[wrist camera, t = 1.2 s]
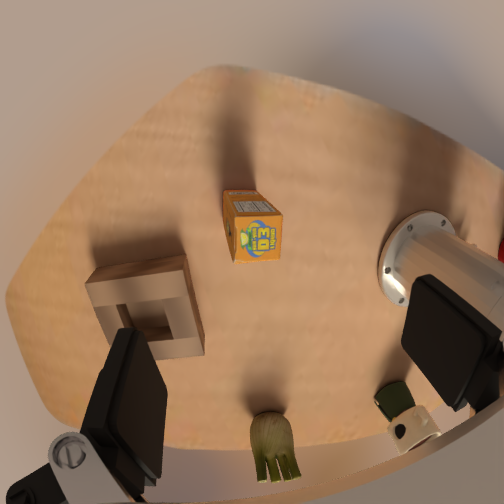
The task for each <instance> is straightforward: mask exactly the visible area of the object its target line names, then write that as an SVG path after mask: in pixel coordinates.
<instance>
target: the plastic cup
mask: <svg viewBox="0 0 504 504" xmlns="http://www.w3.org/2000/svg"><path fill="white" fill-rule="evenodd" d="M498 260H499V261H501V262H502V263H504V239H503V240H502V242H501V245H500V248H499V253H498Z"/></svg>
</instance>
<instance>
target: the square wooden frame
mask: <svg viewBox="0 0 504 504" xmlns="http://www.w3.org/2000/svg"><path fill="white" fill-rule="evenodd" d="M85 287H86V290H87V292H88V295H89V298H90V300H91V303H92V306H93V308H94V311H95V313H96V316H97V318H98V320H99V323H100V325H101V327H102V330H103V332H104V334H105V337H106V339H107V341H108V343H109V345H110V348H111V346H112V343H113V341H114V338H115V336H116V333H117V331H118V329H119V328H127V327H136V328H137V329H138V331H143V333H144V335H145V337H146V340H147V342H148V345H149V348H150V350H151V352H152V355H153V357H154V360H166V359H177V358H187V357H196V356H204V342H205V334H204V330H203V326H202V322H201V318H200V314H199V310H198V306H197V301H196V297H195V293H194V288H193V284H192V279H191V275H190V270H189V266H188V261H187V256H186V254H184V255H177V256H170V257H164V258H157V259H151V260H144V261H138V262H131V263H125V264H118V265H112V266H106V267H99V268H96V270H95V271H94V272H93V273H92V275H91V276H90V277H89V279H88V280H87V281H86V282H85Z"/></svg>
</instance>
